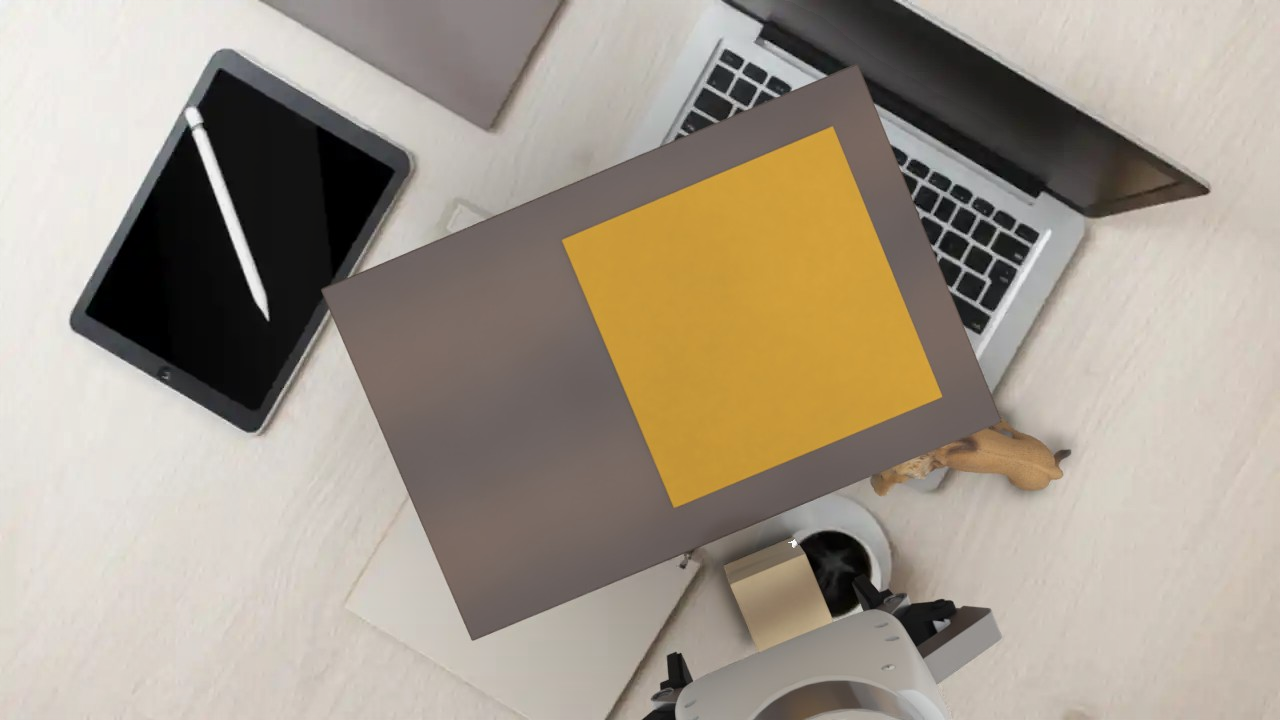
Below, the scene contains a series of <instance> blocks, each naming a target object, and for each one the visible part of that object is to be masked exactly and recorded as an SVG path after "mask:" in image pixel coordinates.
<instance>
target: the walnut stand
mask: <svg viewBox="0 0 1280 720" xmlns="http://www.w3.org/2000/svg"><path fill="white" fill-rule="evenodd" d="M879 115H880V114H879V113H878V110H877V108H876V105H875V102H874V99H873V97H872V94H871V92H870V90H869V88H868V85H867V83H866V81H865V78H864V75H863V73H862V71H861V68H860V66H859V64H858V63H855V64H852V65H851V66H848V67H845V68H843V69H840V70H838V71H836V72H834V73H831V74H829V75H827V76H824V77H822V78H819V79H817V80H814V81H812V82H810V83H807V84H805V85H802V86H801V87H798V88H796V89H794V90H791V91H788V92H786V93H784V94H781V95H779V96H776V97H774V98H771V99H770V100H767V101H765V102H763V103H759V104H758V105H755V106H753V107H751V108H748V109H746V110H744V111H741V112H739V113H736V114H734V115H731V116H728V117H727V118H724V119H722V120H719V121H717V122H715V123H713V124H710V125H708V126H705V127H703V128H701V129H700V128H699V129H698V130H696V131H693V132H690V133H689V134H686V135H683V136H681V137H679V138H676V139H674V140H672V141H669V142H667V143H665V144H662V145H660V146H658V147H655V148H653V149H650V150H648V151H645V152H643V153H641V154H638V155H636V156H634V157H631V158H629V159H627V160H624V161H622V162H619V163H617V164H615V165H612V166H610V167H608V168H605V169H602V170H600V171H598V172H596V173H593V174H591V175H588V176H586V177H584V178H582V179H579V180H577V181H575V182H572V183H570V184H567V185H564V186H563V187H560V188H558V189H555V190H553V191H551V192H548V193H546V194H543V195H541V196H538V197H537V198H534V199H532V200H529V201H527V202H524V203H522V204H520V205H517V206H515V207H512V208H511V209H508V210H505V211H503V212H501V213H498V214H495V215H493V216H491V217H489V218H487V219H484V220H481V221H479V222H476V223H474V224H472V225H470V226H468V227H465V228H462V229H460V230H457V231H455V232H453V233H451V234H449V235H446V236H443V237H441V238H439V239H436V240H434V241H431V242H430V243H427V244H424V245H422V246H420V247H417V248H414V249H412V250H410V251H408V252H406V253H403V254H400V255H398V256H396V257H394V258H391V259H389V260H386V261H384V262H382V263H380V264H377V265H375V266H372V267H370V268H367V269H365V270H363V271H360V272H357V273H355V274H352V275H351V276H348V277H346V278H344V279H341V280H339V281H337V282H334V283H332V284H329V285H327V286H324V287H322V288H321V289H320V291H321V293H322V297H323V298H324V301H325V304H326V305H327V308H328V310H329V313H330V314H331V317H332V319H333V321H334V324H335V325H336V328H337V331H338V333H339V336H340V338H341V340H342V342H343V344H344V347H345V349H346V353H347V354H348V357H349V359H350V361H351V364H352V367H353V368H354V371H355V372H356V375H357V377H358V381H359V383H360V385H361V387H362V389H363V392H364V393H365V396H366V398H367V400H368V403H369V405H370V407H371V410H372V412H373V415H374V417H375V419H376V421H377V424H378V426H379V429H380V431H381V434H382V435H383V438H384V440H385V442H386V444H387V447H388V449H389V452H390V454H391V456H392V459H393V461H394V464H395V466H396V468H397V471H398V473H399V475H400V478H401V480H402V483H403V484H404V487H405V488H406V492H407V494H408V496H409V498H410V501H411V503H412V505H413V508H414V511H415V512H416V515H417V517H418V519H419V521H420V524H421V526H422V528H423V531H424V534H425V536H426V538H427V540H428V543H429V545H430V547H431V550H432V552H433V555H434V557H435V559H436V561H437V563H438V566H439V569H440V570H441V573H442V575H443V577H444V580H445V582H446V585H447V586H448V589H449V591H450V593H451V596H452V598H453V600H454V603H455V606H456V607H457V610H458V612H459V614H460V617H461V620H462V622H463V625H464V626H465V628H466V631H467V634H468V636H469V637H470V640H471V641H472V642H474V641H476V640H479V639H481V638H484V637H486V636H488V635H491V634H494V633H496V632H498V631H501V630H503V629H505V628H508V627H510V626H513V625H515V624H518V623H520V622H522V621H525V620H527V619H530V618H532V617H534V616H537V615H539V614H541V613H545V612H547V611H549V610H552V609H554V608H556V607H559V606H561V605H564V604H566V603H568V602H571V601H573V600H576V599H578V598H580V597H583V596H586V595H587V594H590V593H592V592H595V591H597V590H601V589H602V588H604V587H607V586H609V585H612V584H614V583H617V582H619V581H621V580H624V579H626V578H629V577H631V576H633V575H634V576H635V575H636V574H638V573H641V572H643V571H645V570H648V569H651V568H654V567H655V566H658V565H660V564H663V563H665V562H668V561H670V560H673V559H675V558H677V557H679V556H680V557H681V556H682V555H684V554H687V553H689V552H692V551H694V550H696V549H699V548H701V547H704V546H706V545H708V544H711V543H714V542H716V541H718V540H721V539H724V538H725V537H728V536H730V535H733V534H735V533H738V532H740V531H743V530H744V529H748V528H750V527H752V526H754V525H757V524H760V523H761V522H764V521H766V520H769V519H771V518H774V517H776V516H778V515H781V514H783V513H785V512H788V511H791V510H793V509H796V508H798V507H801V506H803V505H805V504H808V503H810V502H812V501H815V500H818V499H820V498H823V497H824V496H826V495H829V494H832V493H834V492H838V491H839V490H841V489H844V488H846V487H849V486H851V485H854V484H856V483H858V482H861V481H863V480H866V479H868V478H871V477H872V476H873V475H875V474H878V473H880V472H883V471H885V470H887V469H890V468H892V467H895V466H897V465H900V464H902V463H904V462H907V461H909V460H912V459H914V458H916V457H919V456H921V455H924V454H926V453H929V452H931V451H933V450H936V449H938V448H941V447H943V446H946V445H948V444H950V443H953V442H955V441H958V440H960V439H962V438H965V437H967V436H970V435H972V434H975V433H977V432H979V431H982V430H984V429H990V427H991V426H994V425H996V424H999V423H1001V422H1002V420H1001V418H1002V417H1001V415H1000V413H999V409H998V407H997V405H996V402H995V401H994V397H993V395H992V392H991V390H990V388H989V385H988V383H987V380H986V378H985V375H984V373H983V371H982V368H981V366H980V363H979V360H978V357H977V356H976V352H975V351H974V348H973V345H972V343H971V341H970V338H969V335H968V333H967V330H966V328H965V326H964V323H963V320H962V318H961V316H960V313H959V311H958V308H957V306H956V304H955V300H954V298H953V295H952V293H951V291H950V288H949V285H948V284H947V283H948V282H947V281H946V278H945V276H944V274H943V271H942V268H941V266H940V264H939V260H938V258H937V256H936V253H935V252H934V248H933V247H932V244H931V241H930V239H929V237H928V233H927V232H926V231H927V230H925V227H924V224H923V221H922V219H921V216H920V214H919V212H918V209H917V207H916V204H915V202H914V199H913V197H912V194H911V192H910V190H909V187H908V185H907V182H906V179H905V177H904V174H903V172H902V170H901V167H900V164H899V162H898V159H897V158H896V157H897V156H896V155H895V152H894V150H893V148H892V144H891V143H890V140H889V137H888V135H887V133H886V130H885V127H884V125H883V123H882V120H881V118H880V116H879ZM831 126H833V128H834V130H835V132H836V135H837V137H838V140H839V142H840V145H841V147H842V150H843V152H844V155H845V157H846V160H847V162H848V165H849V167H850V169H851V172H852V174H853V177H854V179H855V182H856V184H857V187H858V189H859V192H860V194H861V197H862V199H863V202H864V204H865V206H866V209H867V211H868V214H869V216H870V219H871V221H872V224H873V226H874V229H875V231H876V234H877V236H878V238H879V241H880V243H881V246H882V248H883V251H884V253H885V256H886V258H887V261H888V263H889V266H890V268H891V271H892V273H893V275H894V278H895V280H896V283H897V285H898V288H899V290H900V293H901V295H902V298H903V300H904V303H905V305H906V308H907V310H908V312H909V315H910V317H911V320H912V322H913V325H914V327H915V330H916V332H917V335H918V337H919V340H920V342H921V344H922V347H923V349H924V352H925V354H926V357H927V359H928V362H929V364H930V367H931V369H932V372H933V374H934V377H935V379H936V381H937V384H938V386H939V389H940V391H941V394H942V398H939V399H937V400H934V401H932V402H930V403H927V404H925V405H922V406H920V407H918V408H915V409H913V410H910V411H908V412H905V413H903V414H901V415H898V416H896V417H893V418H891V419H889V420H886V421H884V422H881V423H879V424H877V425H874V426H872V427H869V428H867V429H864V430H862V431H860V432H857V433H855V434H852V435H850V436H848V437H845V438H843V439H840V440H838V441H836V442H833V443H831V444H828V445H826V446H823V447H821V448H819V449H816V450H814V451H811V452H809V453H807V454H804V455H802V456H799V457H797V458H795V459H792V460H790V461H787V462H785V463H782V464H780V465H778V466H775V467H773V468H770V469H768V470H766V471H763V472H761V473H758V474H756V475H753V476H751V477H749V478H746V479H744V480H741V481H739V482H737V483H734V484H732V485H729V486H727V487H725V488H722V489H720V490H717V491H715V492H712V493H710V494H708V495H705V496H703V497H700V498H698V499H696V500H693V501H691V502H688V503H686V504H684V505H681V506H679V507H676V508H674V507H673V505H672V503H671V500H670V498H669V495H668V493H667V491H666V488H665V486H664V484H663V481H662V479H661V476H660V474H659V472H658V469H657V467H656V464H655V462H654V460H653V457H652V455H651V453H650V450H649V448H648V445H647V443H646V441H645V438H644V436H643V433H642V431H641V429H640V426H639V424H638V422H637V419H636V417H635V414H634V412H633V410H632V407H631V405H630V402H629V400H628V398H627V395H626V393H625V391H624V388H623V386H622V383H621V381H620V379H619V376H618V374H617V371H616V369H615V367H614V364H613V362H612V359H611V357H610V355H609V352H608V350H607V348H606V345H605V343H604V340H603V338H602V336H601V333H600V331H599V328H598V326H597V324H596V321H595V319H594V317H593V314H592V312H591V309H590V307H589V305H588V302H587V300H586V297H585V295H584V293H583V290H582V288H581V286H580V283H579V281H578V278H577V276H576V274H575V271H574V269H573V266H572V264H571V262H570V259H569V257H568V255H567V252H566V250H565V247H564V245H563V243H562V239H564V238H567V237H569V236H572V235H574V234H576V233H579V232H581V231H584V230H586V229H588V228H591V227H593V226H595V225H598V224H600V223H603V222H605V221H607V220H610V219H612V218H615V217H617V216H619V215H622V214H624V213H626V212H629V211H631V210H634V209H636V208H638V207H641V206H643V205H646V204H648V203H650V202H653V201H655V200H657V199H660V198H662V197H665V196H667V195H669V194H672V193H674V192H677V191H679V190H681V189H684V188H686V187H688V186H691V185H693V184H696V183H698V182H700V181H703V180H705V179H707V178H710V177H712V176H715V175H717V174H719V173H722V172H724V171H727V170H729V169H731V168H734V167H736V166H738V165H741V164H743V163H746V162H748V161H750V160H753V159H755V158H758V157H760V156H762V155H765V154H767V153H769V152H772V151H774V150H777V149H779V148H781V147H784V146H786V145H789V144H791V143H793V142H796V141H798V140H800V139H803V138H805V137H808V136H810V135H812V134H815V133H817V132H820V131H822V130H824V129H827V128H829V127H831Z"/></svg>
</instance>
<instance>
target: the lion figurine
mask: <svg viewBox="0 0 1280 720" xmlns="http://www.w3.org/2000/svg"><path fill="white" fill-rule="evenodd" d="M1001 420H1002V422H1001V423H999V424H996V425H994V426H991V427H989V428H987V429H984V430H982V431H979V432H977V433H975V434H972V435H970V436H967V437H965V438H962V439H960V440H958V441H955V442H953V443H950V444H948V445H946V446H943V447H941V448H938V449H936V450H933V451H931V452H929V453H926V454H924V455H921V456H919V457H916V458H914V459H912V460H909V461H907V462H904V463H902V464H900V465H897V466H895V467H892V468H890V469H887V470H885V471H883V472H880V473H878V474H875V475H873V476H871V477H870V481H869V483H870V485H871V487H872V488H873V491H874V493H875V494H876V495H877V496H879V497H886V496H887V495H888V494H889V493H890V492H892V491H893V489H894V487H895V486H896V484H904V483H906V482H907V481H909V480H910V479H920V480H926V479H927V477H926V476H929V474H930V473H931V472H934V471H935V470H939V469H943V468H946V467H947V468H950V469H953V470H957V471H960V472H964V473H975V474H988V475H989V474H990V475H991V474H993V475H994V474H995V475H1002V476H1006V478H1007V480H1008V481H1009V483H1010V484H1011V486H1014V487H1016V488H1018V489H1020V490H1022V491H1027V492H1033V491H1040V490H1044V489H1046V488H1047V487H1048V486H1050V485H1049V484H1050V482H1051V481H1057V480H1061V479H1062V478H1063V477H1064V471H1063V470H1062V469H1061V467H1060V464H1061V462H1062V461H1063V460H1064V459H1067V458H1069V457H1070V456H1071V455H1072V449H1069V448H1068V449H1060V450H1058V451H1057V452H1055V454H1053V451H1051V450H1050V448H1048V446H1047V445H1046V444H1045V443H1044V442H1043V441H1041V440H1039V439H1038V438H1036V437H1034V436H1032V435H1030V434H1026V433H1023V432H1021V431H1018V430H1016V429H1014V428H1013V427H1012V426H1011V425H1010V423H1009V422H1008V421H1007V420H1005V419H1004V418H1003V417H1001Z"/></svg>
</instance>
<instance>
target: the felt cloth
mask: <svg viewBox="0 0 1280 720" xmlns="http://www.w3.org/2000/svg"><path fill="white" fill-rule="evenodd" d="M562 243H563V245H564V247H565V250H566V252H567V255H568V257H569V259H570V262H571V264H572V266H573V269H574V271H575V274H576V276H577V278H578V281H579V283H580V286H581V288H582V290H583V293H584V295H585V297H586V300H587V302H588V305H589V307H590V309H591V312H592V314H593V317H594V319H595V321H596V324H597V326H598V328H599V331H600V333H601V336H602V338H603V340H604V343H605V345H606V348H607V350H608V352H609V355H610V357H611V359H612V362H613V364H614V367H615V369H616V371H617V374H618V376H619V379H620V381H621V383H622V386H623V388H624V391H625V393H626V395H627V398H628V400H629V402H630V405H631V407H632V410H633V412H634V414H635V417H636V419H637V422H638V424H639V426H640V429H641V431H642V433H643V436H644V438H645V441H646V443H647V445H648V448H649V450H650V453H651V455H652V457H653V460H654V462H655V464H656V467H657V469H658V472H659V474H660V476H661V479H662V481H663V484H664V486H665V488H666V491H667V493H668V495H669V498H670V500H671V503H672V505H673V507H674V508H676V507H679V506H681V505H684V504H686V503H688V502H691V501H693V500H696V499H698V498H700V497H703V496H705V495H708V494H710V493H712V492H715V491H717V490H720V489H722V488H725V487H727V486H729V485H732V484H734V483H737V482H739V481H741V480H744V479H746V478H749V477H751V476H753V475H756V474H758V473H761V472H763V471H766V470H768V469H770V468H773V467H775V466H778V465H780V464H782V463H785V462H787V461H790V460H792V459H795V458H797V457H799V456H802V455H804V454H807V453H809V452H811V451H814V450H816V449H819V448H821V447H823V446H826V445H828V444H831V443H833V442H836V441H838V440H840V439H843V438H845V437H848V436H850V435H852V434H855V433H857V432H860V431H862V430H864V429H867V428H869V427H872V426H874V425H877V424H879V423H881V422H884V421H886V420H889V419H891V418H893V417H896V416H898V415H901V414H903V413H905V412H908V411H910V410H913V409H915V408H918V407H920V406H922V405H925V404H927V403H930V402H932V401H934V400H937V399H939V398H942V394H941V391H940V389H939V386H938V384H937V381H936V379H935V377H934V374H933V372H932V369H931V367H930V364H929V362H928V359H927V357H926V354H925V352H924V349H923V347H922V344H921V342H920V340H919V337H918V335H917V332H916V330H915V327H914V325H913V322H912V320H911V317H910V315H909V312H908V310H907V308H906V305H905V303H904V300H903V298H902V295H901V293H900V290H899V288H898V285H897V283H896V280H895V278H894V275H893V273H892V271H891V268H890V266H889V263H888V261H887V258H886V256H885V253H884V251H883V248H882V246H881V243H880V241H879V238H878V236H877V234H876V231H875V229H874V226H873V224H872V221H871V219H870V216H869V214H868V211H867V209H866V206H865V204H864V202H863V199H862V197H861V194H860V192H859V189H858V187H857V184H856V182H855V179H854V177H853V174H852V172H851V169H850V167H849V165H848V162H847V160H846V157H845V155H844V152H843V150H842V147H841V145H840V142H839V140H838V137H837V135H836V132H835V130H834V128H833V126H831V127H829V128H827V129H824V130H822V131H820V132H817V133H815V134H812V135H810V136H808V137H805V138H803V139H800V140H798V141H796V142H793V143H791V144H789V145H786V146H784V147H781V148H779V149H777V150H774V151H772V152H769V153H767V154H765V155H762V156H760V157H758V158H755V159H753V160H750V161H748V162H746V163H743V164H741V165H738V166H736V167H734V168H731V169H729V170H727V171H724V172H722V173H719V174H717V175H715V176H712V177H710V178H707V179H705V180H703V181H700V182H698V183H696V184H693V185H691V186H688V187H686V188H684V189H681V190H679V191H677V192H674V193H672V194H669V195H667V196H665V197H662V198H660V199H657V200H655V201H653V202H650V203H648V204H646V205H643V206H641V207H638V208H636V209H634V210H631V211H629V212H626V213H624V214H622V215H619V216H617V217H615V218H612V219H610V220H607V221H605V222H603V223H600V224H598V225H595V226H593V227H591V228H588V229H586V230H584V231H581V232H579V233H576V234H574V235H572V236H569V237H567V238H564V239H562Z"/></svg>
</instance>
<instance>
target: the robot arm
mask: <svg viewBox="0 0 1280 720" xmlns="http://www.w3.org/2000/svg"><path fill="white" fill-rule="evenodd" d="M851 584H852V587H853V590H854V592H855V594H856V597H857V599H858V602H859V604H860V606H861V609H862V611H859V612H856V613H853V614H850V615H848V616H845V617H842V618H839V619H836V620H835V621H834V620H833V621H834V622H832V623H829V624H827V625H824V626H822V627H819V628H817V629H814V630H812V631H809V632H807V633H804V634H802V635H799V636H797V637H795V638H792V639H790V640H787V641H785V642H782V643H780V644H777V645H775V646H773V647H770V648H768V649H765V650H763V651H761V652H758V651H757V652H756V653H754V654H751V655H749V656H746V657H743V658H741V659H738V660H737V661H735V662H732V663H730V664H728V665H725V666H723V667H720V668H718V669H716V670H713V671H712V672H709V673H707V674H705V675H703V676H700V677H698V678H697V679H695V680H694V679H693V677H692V674H691V672H690V670H689V667H688V665H687V662H686V660H685V658H684V655H683V653H682V652H678V651H674V652H671V653H669V654H666V666H667V677H668V678H667V679H665V680H664V681H660V682H659V691H657V692H655V693H654V694H653V695H652V696H651V697H650V703H651V705H652V707H653V710H651V711H650V712H648V713H647V714H646V716H644V717H643V718H642V719H641V720H955V719H954V717H953V716H952V713H951V711H950V709H949V707H948V705H947V703H946V700H945V699H944V697H943V694H942V693H941V690H940V689H939V687H938V685H939V684H940V683H942V682H943V681H945V680H947V678H949V677H950V676H952V675H953V674H954V673H956V672H957V671H959V670H960V669H961V668H963V667H964V666H966V665H967V664H969V663H970V662H971V661H973V660H974V659H976V658H977V657H979V656H980V655H981V654H983V653H984V652H985V651H987V650H989V649H990V648H991V647H993V646H994V645H995V644H997V643H998V642H999V641H1001V640H1002V638H1003V634H1002V632H1001V629H1000V627H999V625H998V623H997V620H996V618H995V615H994V612H993V610H992V609H991V608H990V607H982V606H973V605H971V606H970V605H962V606H961V607H956V605H955V603H954V601H953V600H950V599H945V598H939V599H938V598H937V599H936V600H933V601H923V602H914V603H912V602H911V599H910V596H909V595H908V593H906V592H897V593H893V592H892V591H891V590H890V589H889V588H886V589H884V590H882V591H879V590H878V588H877V587H876V586H875V585H874V583H873V582H872V581H871V580H870V579H869V578H868V577H867V575H866V574H864V573H863V574H861V575H858V576H856V577H854V581H852V582H851Z"/></svg>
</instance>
